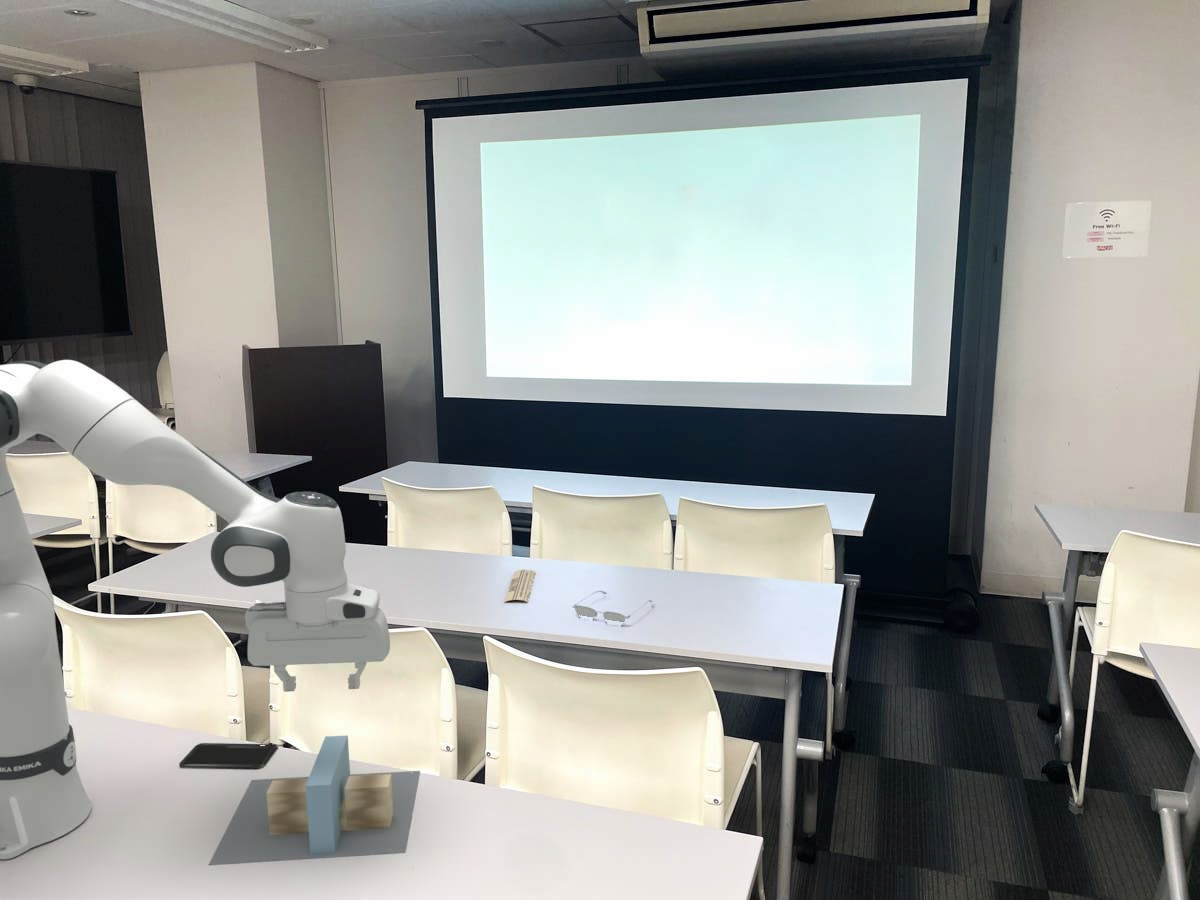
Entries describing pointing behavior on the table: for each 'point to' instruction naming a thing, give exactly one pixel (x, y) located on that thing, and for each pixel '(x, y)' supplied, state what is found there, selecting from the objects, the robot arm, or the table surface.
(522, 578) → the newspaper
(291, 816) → the beech rail
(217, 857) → the mat
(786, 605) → the table surface
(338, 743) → the blue plate
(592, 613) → the eyeglasses
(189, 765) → the phone
